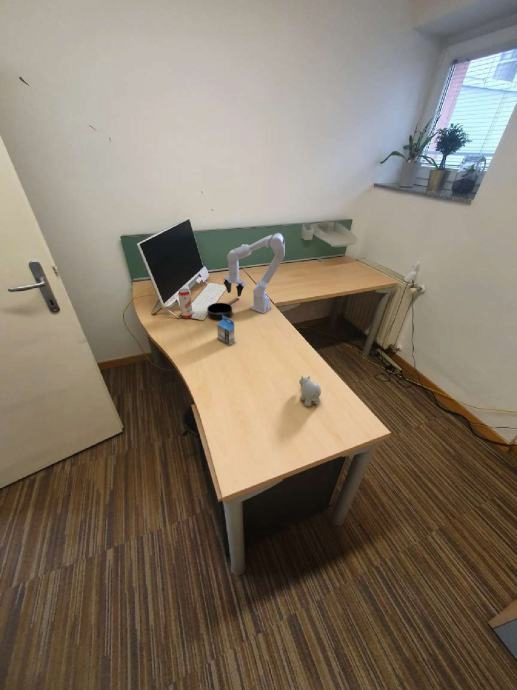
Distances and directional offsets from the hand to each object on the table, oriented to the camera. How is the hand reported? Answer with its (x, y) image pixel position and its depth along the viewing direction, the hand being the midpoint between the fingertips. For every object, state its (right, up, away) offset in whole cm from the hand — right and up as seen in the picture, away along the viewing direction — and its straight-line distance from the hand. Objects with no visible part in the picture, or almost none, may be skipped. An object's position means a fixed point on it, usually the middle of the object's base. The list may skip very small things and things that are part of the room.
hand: (234, 294), depth 163 cm
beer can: (-26, -14, -7) cm, 31 cm away
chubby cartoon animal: (+34, -51, -55) cm, 82 cm away
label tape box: (-2, -28, -26) cm, 38 cm away
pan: (-5, -10, -1) cm, 11 cm away
